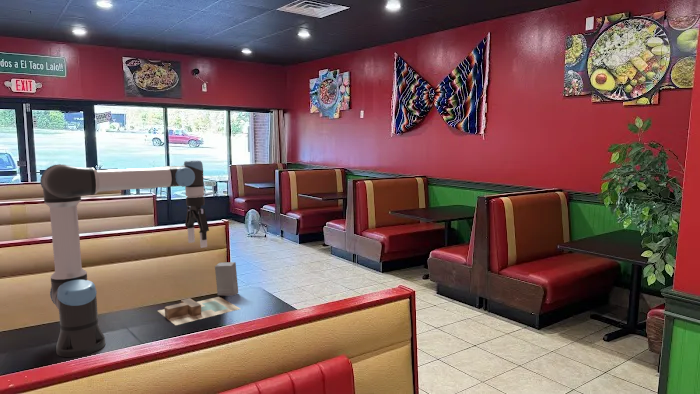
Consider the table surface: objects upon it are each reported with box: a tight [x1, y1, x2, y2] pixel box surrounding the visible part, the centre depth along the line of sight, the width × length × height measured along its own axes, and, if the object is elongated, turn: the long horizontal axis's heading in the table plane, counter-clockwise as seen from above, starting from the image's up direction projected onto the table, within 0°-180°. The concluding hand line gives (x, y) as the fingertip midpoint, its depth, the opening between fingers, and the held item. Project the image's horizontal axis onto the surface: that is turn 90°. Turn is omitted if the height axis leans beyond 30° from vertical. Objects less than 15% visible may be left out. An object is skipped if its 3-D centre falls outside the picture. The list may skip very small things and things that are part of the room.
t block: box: [164, 297, 201, 320], centre depth 197 cm, size 12×12×4 cm
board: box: [157, 296, 242, 326], centre depth 203 cm, size 28×22×1 cm
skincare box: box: [214, 261, 239, 297], centre depth 224 cm, size 8×7×16 cm
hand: (197, 244), depth 206 cm, fingers open, 13 cm apart
